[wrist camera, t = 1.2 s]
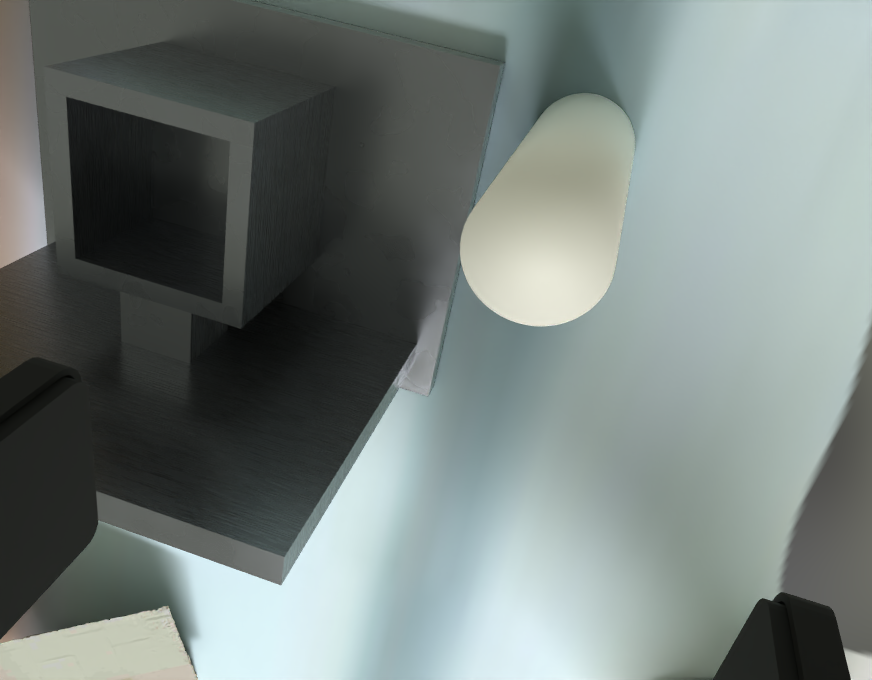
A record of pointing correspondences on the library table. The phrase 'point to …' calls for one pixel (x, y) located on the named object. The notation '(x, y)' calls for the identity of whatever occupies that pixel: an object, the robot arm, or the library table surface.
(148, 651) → the wall
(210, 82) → the cup bracket
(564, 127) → the off-white rounded cylinder
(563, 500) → the library table surface
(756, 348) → the library table surface
